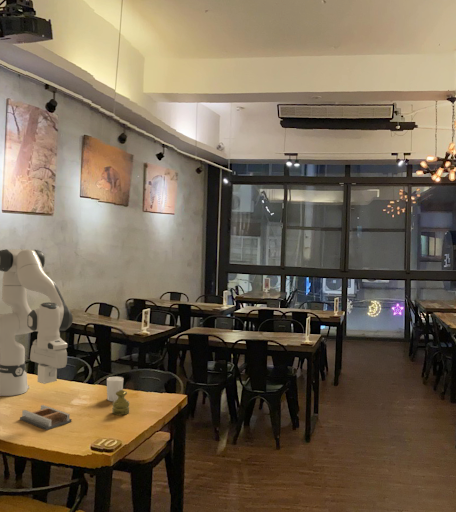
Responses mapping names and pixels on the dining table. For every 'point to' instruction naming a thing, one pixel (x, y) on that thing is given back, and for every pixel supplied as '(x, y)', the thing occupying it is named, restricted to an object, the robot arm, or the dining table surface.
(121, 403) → the olive green tiered piece
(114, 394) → the white cup
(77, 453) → the dining table surface
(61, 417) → the rail plate
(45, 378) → the block
